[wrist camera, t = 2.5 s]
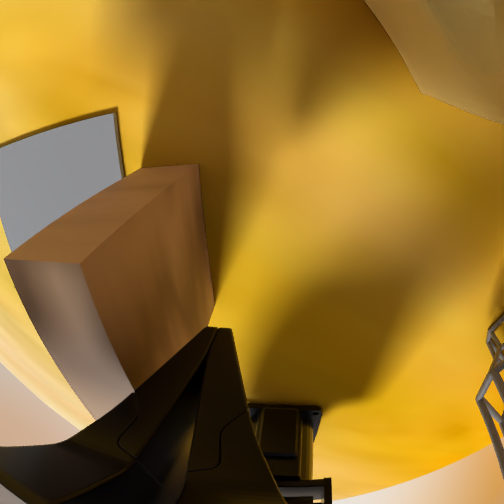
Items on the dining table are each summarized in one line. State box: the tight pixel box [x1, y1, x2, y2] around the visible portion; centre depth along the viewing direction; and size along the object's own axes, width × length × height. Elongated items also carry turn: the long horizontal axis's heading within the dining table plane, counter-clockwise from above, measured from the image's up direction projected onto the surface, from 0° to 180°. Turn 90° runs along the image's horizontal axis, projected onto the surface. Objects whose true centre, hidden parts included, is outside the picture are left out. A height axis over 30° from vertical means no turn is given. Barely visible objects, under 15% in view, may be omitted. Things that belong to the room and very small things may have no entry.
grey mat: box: [0, 113, 125, 252], centre depth 16 cm, size 14×12×1 cm
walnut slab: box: [4, 164, 215, 420], centre depth 11 cm, size 8×3×9 cm, turn 2°
